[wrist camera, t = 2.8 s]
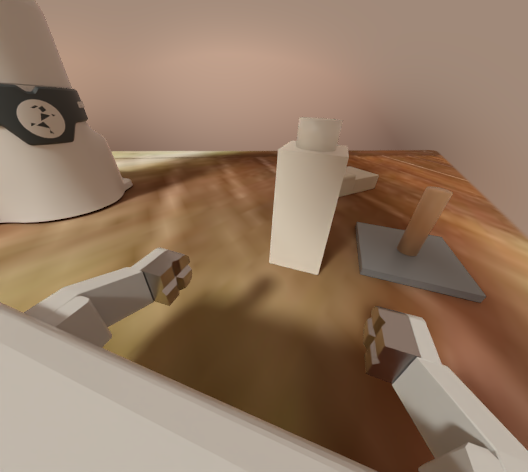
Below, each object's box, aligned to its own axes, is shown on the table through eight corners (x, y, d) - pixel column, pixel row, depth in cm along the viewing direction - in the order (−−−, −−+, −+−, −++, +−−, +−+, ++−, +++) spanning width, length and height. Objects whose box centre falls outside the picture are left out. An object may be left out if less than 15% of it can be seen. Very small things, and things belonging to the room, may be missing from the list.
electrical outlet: (380, 170, 41) (314, 182, 32) (373, 189, 43) (309, 205, 35) (351, 162, 46) (287, 170, 37) (346, 179, 48) (284, 191, 40)
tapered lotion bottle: (269, 262, 21) (280, 118, 14) (281, 238, 25) (294, 115, 18) (318, 275, 20) (357, 123, 13) (322, 246, 24) (354, 119, 17)
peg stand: (360, 274, 20) (390, 201, 16) (355, 226, 28) (374, 170, 24) (480, 302, 18) (553, 226, 14) (438, 242, 26) (475, 182, 22)
